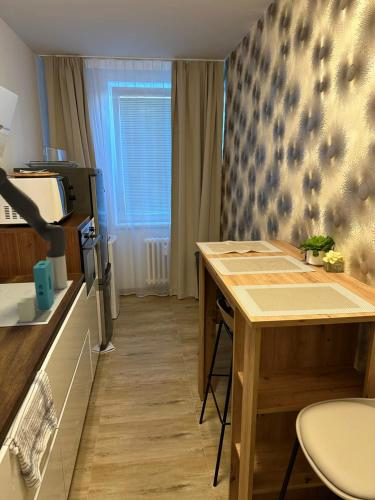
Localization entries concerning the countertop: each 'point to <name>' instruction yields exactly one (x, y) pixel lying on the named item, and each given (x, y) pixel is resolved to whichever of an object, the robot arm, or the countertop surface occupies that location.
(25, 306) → the sage block
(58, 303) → the countertop surface
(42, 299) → the block
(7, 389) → the countertop surface
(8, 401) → the countertop surface
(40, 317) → the marker mat
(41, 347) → the countertop surface
